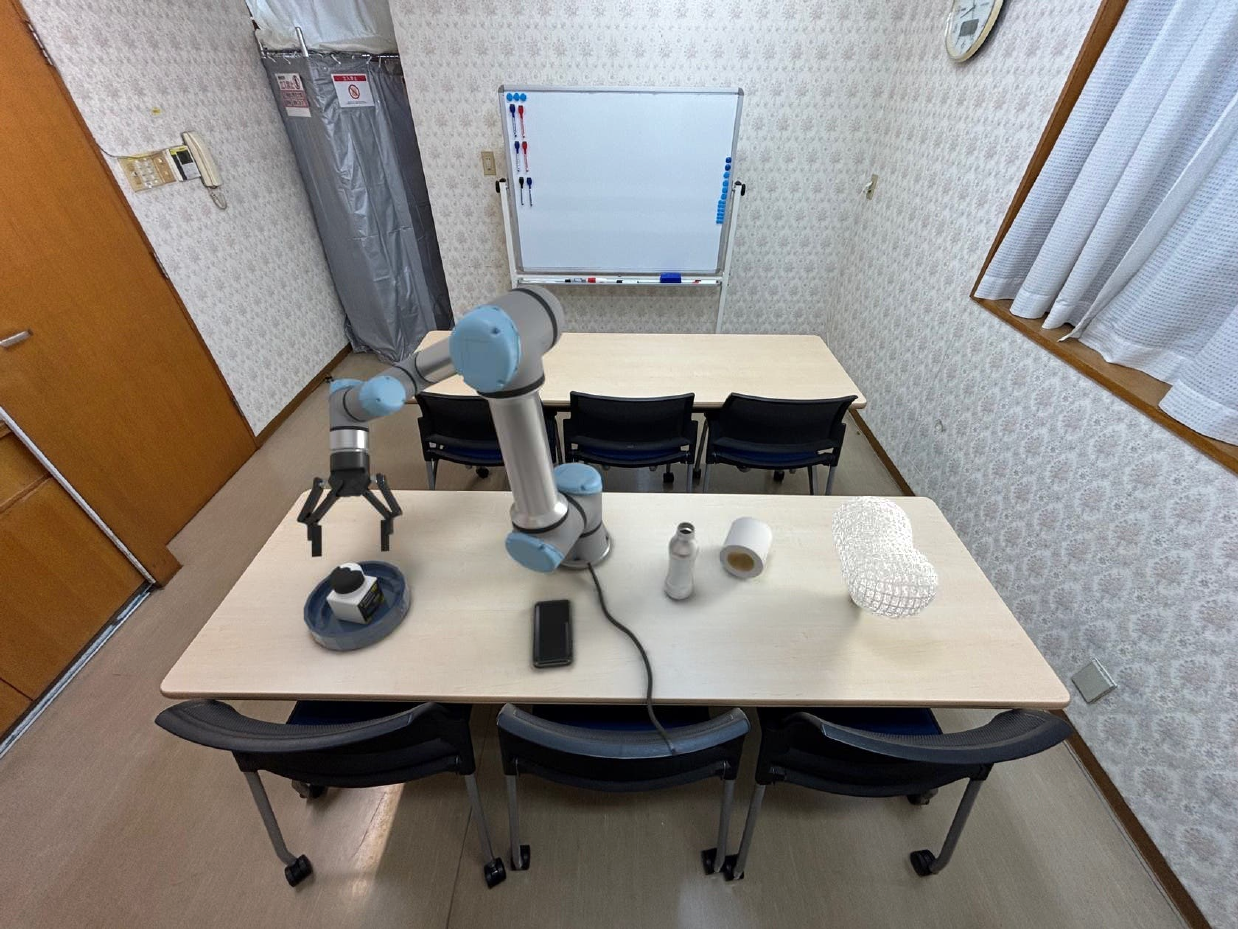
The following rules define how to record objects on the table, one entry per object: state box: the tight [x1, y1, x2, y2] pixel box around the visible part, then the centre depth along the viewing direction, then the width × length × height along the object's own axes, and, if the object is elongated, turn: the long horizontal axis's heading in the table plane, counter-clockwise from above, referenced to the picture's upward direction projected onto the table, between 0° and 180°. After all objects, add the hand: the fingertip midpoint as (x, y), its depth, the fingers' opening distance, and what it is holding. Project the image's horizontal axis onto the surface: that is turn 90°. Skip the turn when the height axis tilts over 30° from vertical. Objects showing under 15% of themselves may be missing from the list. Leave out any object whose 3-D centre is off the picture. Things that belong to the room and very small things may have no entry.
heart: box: [831, 495, 939, 620], centre depth 106 cm, size 28×16×22 cm, turn 175°
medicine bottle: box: [326, 562, 385, 625], centre depth 105 cm, size 7×7×12 cm
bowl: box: [303, 559, 411, 651], centre depth 108 cm, size 20×20×5 cm
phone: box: [532, 599, 574, 669], centre depth 105 cm, size 8×1×15 cm
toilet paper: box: [718, 516, 774, 579], centre depth 118 cm, size 10×10×10 cm
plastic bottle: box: [664, 521, 700, 600], centre depth 108 cm, size 6×7×20 cm
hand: (351, 554), depth 105 cm, fingers open, 13 cm apart
